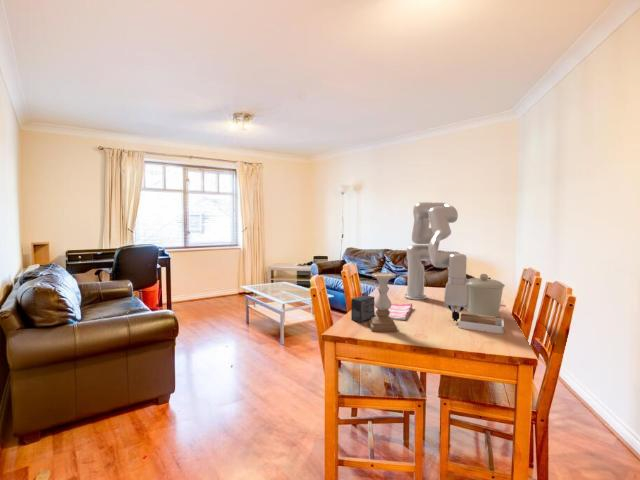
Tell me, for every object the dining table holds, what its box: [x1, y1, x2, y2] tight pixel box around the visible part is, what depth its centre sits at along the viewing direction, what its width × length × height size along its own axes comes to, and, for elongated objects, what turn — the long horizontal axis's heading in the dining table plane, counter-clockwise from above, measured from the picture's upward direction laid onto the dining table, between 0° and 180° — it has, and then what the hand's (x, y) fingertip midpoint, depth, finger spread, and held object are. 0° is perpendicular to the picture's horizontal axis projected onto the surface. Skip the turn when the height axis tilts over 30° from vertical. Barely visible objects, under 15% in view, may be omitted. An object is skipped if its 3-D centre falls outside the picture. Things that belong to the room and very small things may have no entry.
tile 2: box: [478, 314, 496, 325], centre depth 156 cm, size 7×7×4 cm
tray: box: [457, 317, 505, 335], centre depth 157 cm, size 13×18×3 cm
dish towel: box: [374, 302, 413, 321], centre depth 179 cm, size 17×23×4 cm
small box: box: [350, 294, 375, 324], centre depth 168 cm, size 11×6×10 cm, turn 134°
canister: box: [466, 273, 506, 318], centre depth 171 cm, size 18×18×21 cm
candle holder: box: [368, 271, 398, 333], centre depth 155 cm, size 11×11×24 cm
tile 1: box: [459, 311, 478, 323], centre depth 159 cm, size 7×7×4 cm
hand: (455, 320), depth 162 cm, fingers closed
